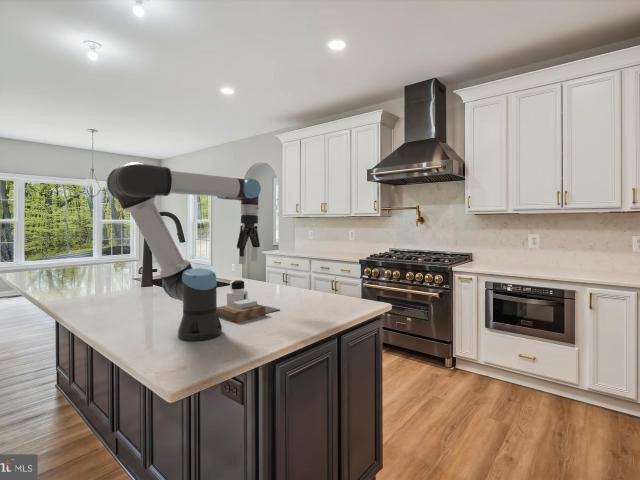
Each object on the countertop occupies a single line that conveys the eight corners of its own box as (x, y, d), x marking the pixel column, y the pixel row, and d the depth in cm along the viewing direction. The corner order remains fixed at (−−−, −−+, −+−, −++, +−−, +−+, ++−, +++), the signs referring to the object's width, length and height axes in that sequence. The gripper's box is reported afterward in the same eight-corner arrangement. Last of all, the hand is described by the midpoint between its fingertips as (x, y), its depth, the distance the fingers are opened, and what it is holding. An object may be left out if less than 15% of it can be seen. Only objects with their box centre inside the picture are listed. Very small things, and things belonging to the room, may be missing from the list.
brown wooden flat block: (234, 322, 146) (234, 313, 146) (215, 316, 156) (215, 307, 156) (265, 315, 158) (265, 306, 158) (246, 309, 168) (246, 301, 167)
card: (239, 308, 153) (239, 304, 153) (231, 306, 157) (231, 302, 157) (257, 305, 159) (257, 300, 159) (249, 303, 164) (249, 298, 163)
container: (247, 306, 175) (247, 279, 174) (242, 310, 167) (242, 282, 167) (232, 305, 176) (232, 279, 175) (226, 309, 168) (226, 281, 167)
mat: (262, 314, 159) (262, 313, 159) (249, 310, 166) (249, 309, 166) (279, 310, 167) (279, 309, 167) (266, 306, 173) (266, 306, 173)
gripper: (246, 213, 147) (245, 265, 147) (267, 216, 171) (266, 260, 172) (229, 213, 148) (228, 264, 149) (252, 215, 172) (251, 260, 173)
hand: (248, 262), depth 160 cm, fingers open, 13 cm apart
